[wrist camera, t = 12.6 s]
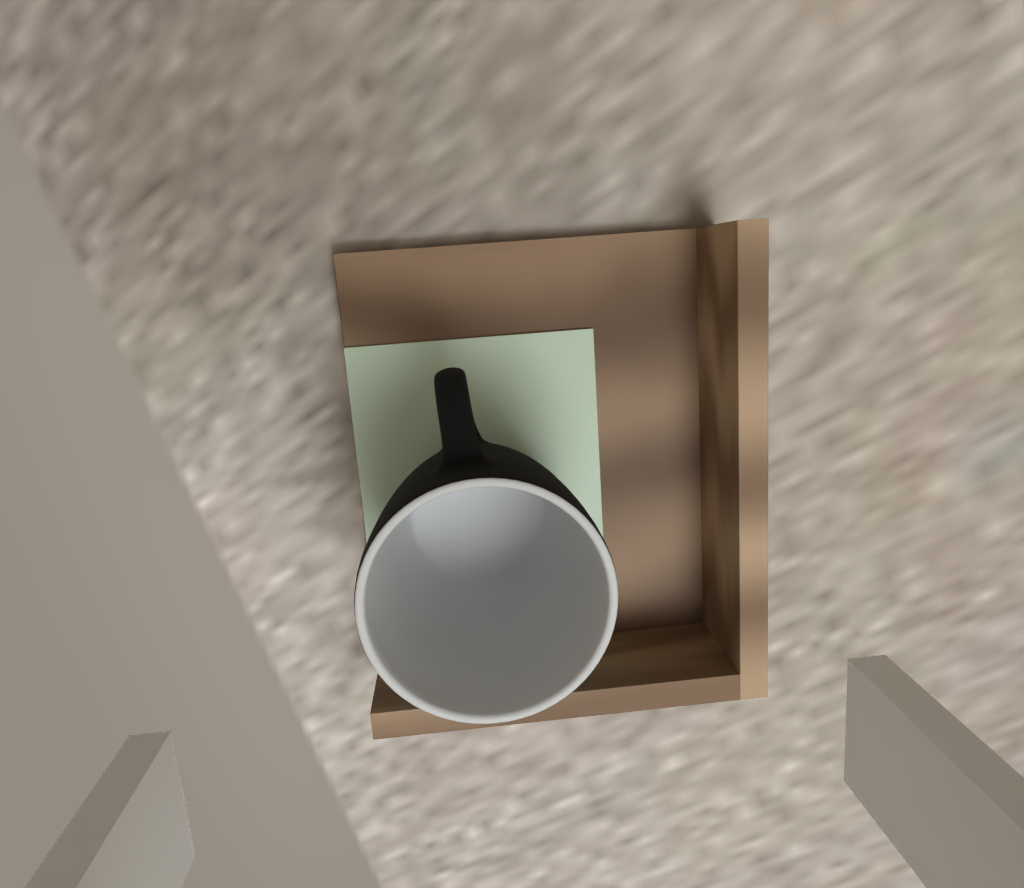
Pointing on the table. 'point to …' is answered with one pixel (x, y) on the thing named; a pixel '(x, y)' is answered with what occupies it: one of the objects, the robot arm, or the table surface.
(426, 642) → the mug
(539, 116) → the table surface
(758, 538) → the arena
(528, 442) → the pad
